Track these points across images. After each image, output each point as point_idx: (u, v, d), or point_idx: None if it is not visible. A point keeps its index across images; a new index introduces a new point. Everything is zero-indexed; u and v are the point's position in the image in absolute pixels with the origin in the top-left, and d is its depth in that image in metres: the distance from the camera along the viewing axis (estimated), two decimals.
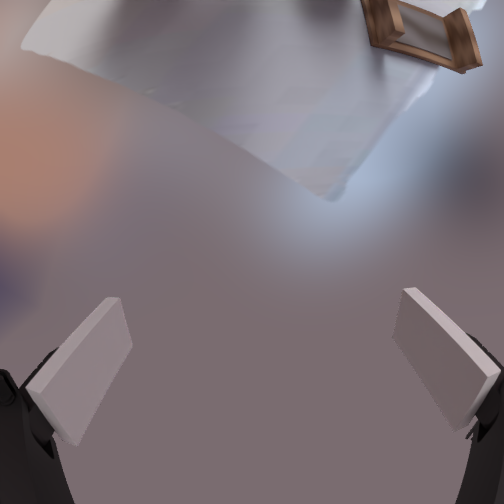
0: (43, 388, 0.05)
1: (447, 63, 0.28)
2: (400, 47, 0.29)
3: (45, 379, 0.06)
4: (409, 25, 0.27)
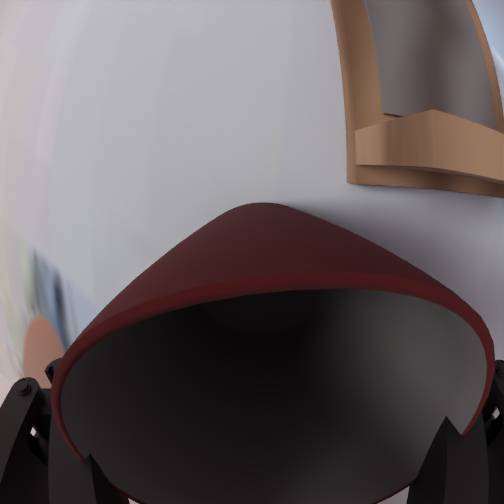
0: None
1: (468, 1, 0.07)
2: (500, 124, 0.10)
3: None
4: (442, 57, 0.09)
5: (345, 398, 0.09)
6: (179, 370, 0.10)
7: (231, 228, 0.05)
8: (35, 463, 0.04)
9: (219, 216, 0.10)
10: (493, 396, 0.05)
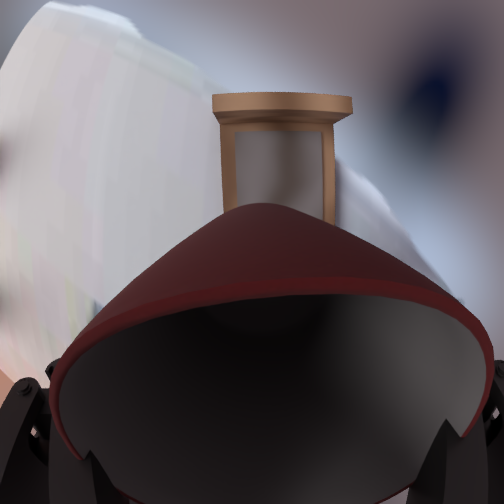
0: None
1: (329, 143, 0.27)
2: None
3: None
4: None
5: (345, 399, 0.09)
6: (179, 370, 0.10)
7: (228, 230, 0.05)
8: (35, 463, 0.04)
9: (219, 216, 0.10)
10: (493, 396, 0.05)
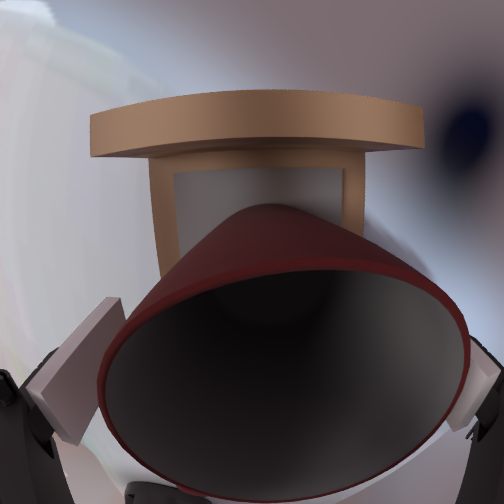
0: (43, 388, 0.05)
1: (356, 190, 0.14)
2: None
3: (45, 379, 0.06)
4: None
5: (349, 379, 0.10)
6: (197, 359, 0.11)
7: (244, 229, 0.06)
8: None
9: (229, 218, 0.11)
10: None
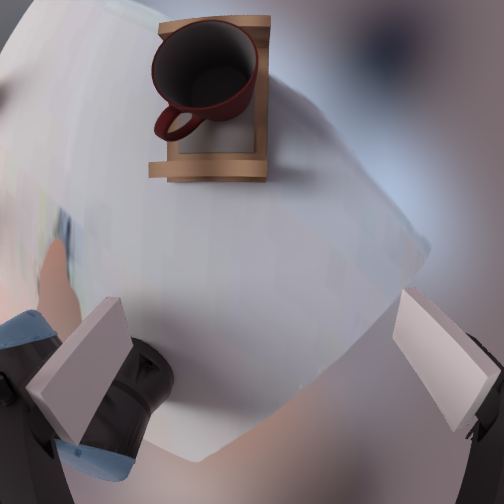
0: (43, 388, 0.05)
1: (264, 62, 0.27)
2: (262, 140, 0.30)
3: (45, 379, 0.06)
4: None
5: None
6: (180, 100, 0.24)
7: None
8: None
9: (202, 58, 0.24)
10: None
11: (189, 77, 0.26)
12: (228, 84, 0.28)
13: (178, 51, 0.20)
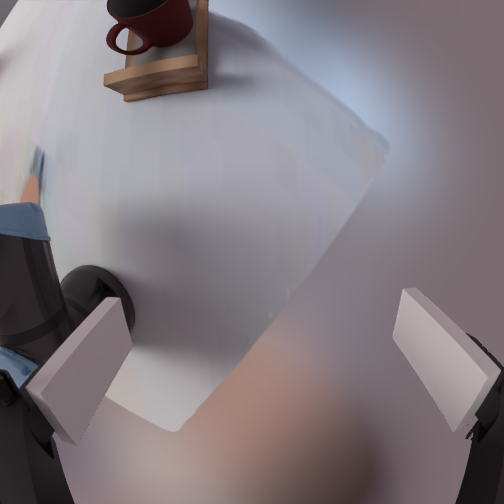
0: (43, 388, 0.05)
1: (203, 2, 0.26)
2: (202, 55, 0.29)
3: (45, 379, 0.06)
4: None
5: None
6: None
7: None
8: None
9: (151, 3, 0.23)
10: None
11: None
12: None
13: None
